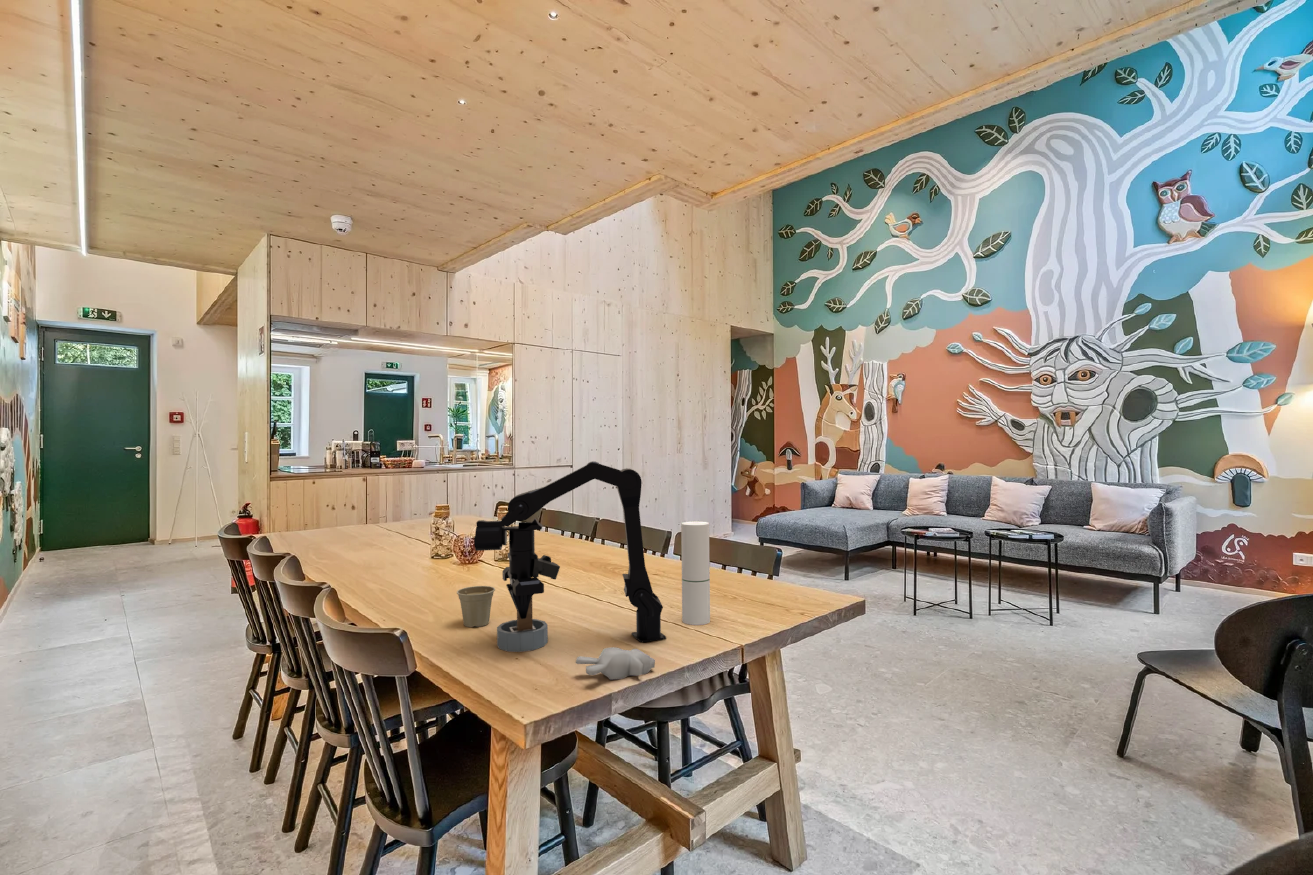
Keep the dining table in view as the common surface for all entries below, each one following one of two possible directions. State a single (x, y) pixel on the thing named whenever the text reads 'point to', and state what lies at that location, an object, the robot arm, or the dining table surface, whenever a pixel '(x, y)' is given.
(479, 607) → the flower pot
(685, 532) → the cylindrical container
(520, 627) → the brown rectangular block
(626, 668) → the bunny figurine
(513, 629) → the clip
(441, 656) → the dining table surface
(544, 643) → the blue-grey round dish
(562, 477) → the robot arm
